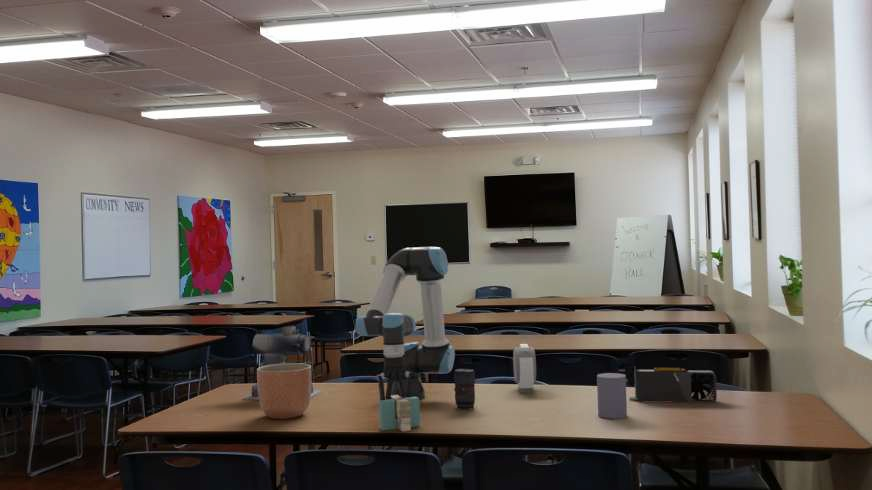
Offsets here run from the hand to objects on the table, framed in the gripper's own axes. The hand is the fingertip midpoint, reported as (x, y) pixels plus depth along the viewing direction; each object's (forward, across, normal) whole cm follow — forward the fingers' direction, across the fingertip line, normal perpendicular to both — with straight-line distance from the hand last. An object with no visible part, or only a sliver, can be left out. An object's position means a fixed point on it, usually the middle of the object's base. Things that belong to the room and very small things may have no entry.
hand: (395, 420), depth 271 cm
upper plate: (+1, 0, -4) cm, 5 cm away
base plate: (+2, 0, -4) cm, 5 cm away
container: (+2, +75, -26) cm, 79 cm away
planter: (+2, -34, +34) cm, 48 cm away
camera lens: (+2, +34, +14) cm, 36 cm away
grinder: (+2, -28, +77) cm, 82 cm away
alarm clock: (+2, +71, +34) cm, 79 cm away
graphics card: (+2, +111, -14) cm, 112 cm away
